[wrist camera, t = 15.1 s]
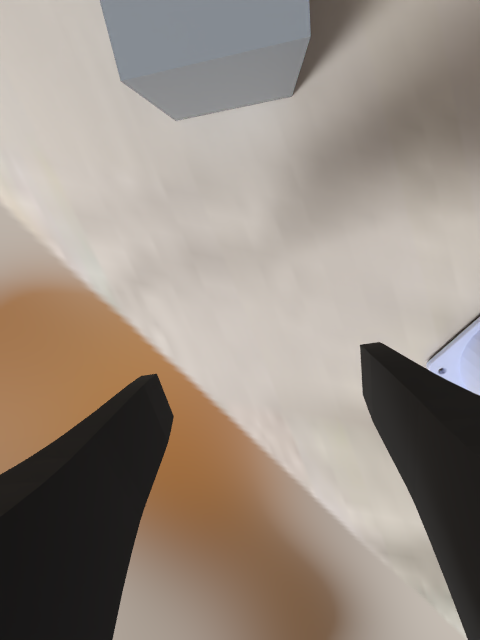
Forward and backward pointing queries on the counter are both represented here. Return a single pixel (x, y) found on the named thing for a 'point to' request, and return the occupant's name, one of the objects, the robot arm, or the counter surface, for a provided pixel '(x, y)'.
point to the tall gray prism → (208, 51)
